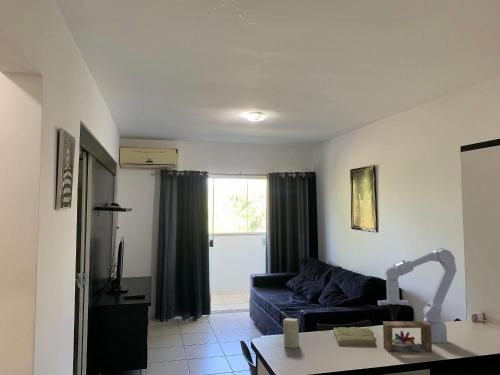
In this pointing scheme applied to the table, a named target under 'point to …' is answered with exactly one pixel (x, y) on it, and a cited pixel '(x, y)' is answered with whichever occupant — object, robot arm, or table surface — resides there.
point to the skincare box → (291, 332)
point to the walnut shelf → (407, 348)
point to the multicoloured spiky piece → (403, 339)
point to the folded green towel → (354, 336)
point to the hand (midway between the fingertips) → (393, 320)
